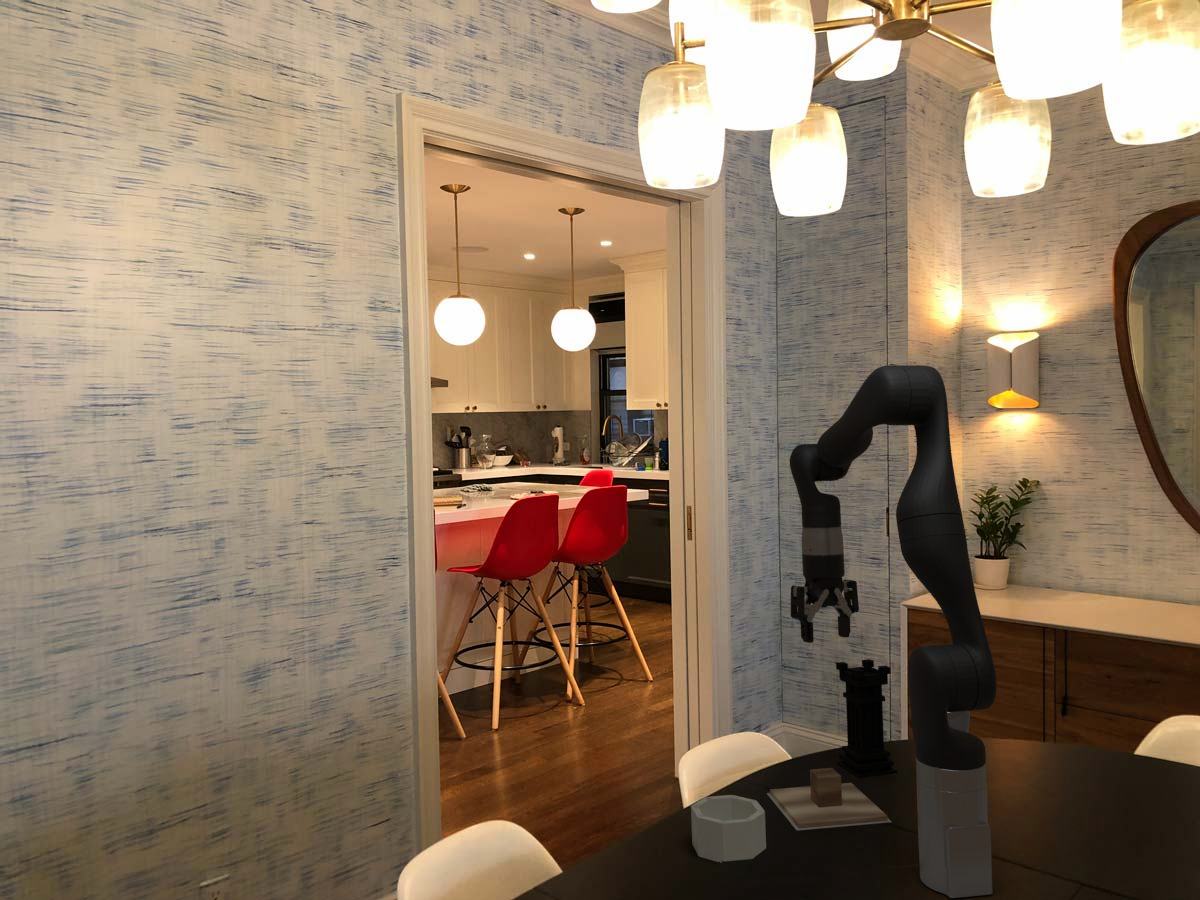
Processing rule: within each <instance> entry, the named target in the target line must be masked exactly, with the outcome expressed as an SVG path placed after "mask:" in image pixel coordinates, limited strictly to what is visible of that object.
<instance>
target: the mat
mask: <svg viewBox="0 0 1200 900" xmlns="http://www.w3.org/2000/svg"><path fill="white" fill-rule="evenodd" d="M766 795H767V796H768V797H769V798H770V800H771V801H772V802H773V803H774V804H775V805H776V807H777V808H778V810H779V811H780V812H781V813H782V814H783V816H784V817H785V818H786V819H787V821H789V823H790V824H791V826H792V827H794V829H795V830H796V831H808V830H817V829H818V830H819V829H828V828H829V829H830V828H841V827H851V826H863V825H864V826H865V825H875V824H887V823H892V821H891V820H890V819H889V818H888V821H880V822H869V823H857V824H846V825H835V826H823V827H812V828H801V829H799V828H798V827H797V826H796V825H795V823H794V822H793V821H792V820H791V819H790V817H789V816H788V815H787V814H786V813H785V811H784V810H783V809H782V808H781V806H780V805H779V804H778V803H777V802H776V800H775V799H774V798H773V797H772V796H771V794H770V792H767V793H766Z"/></svg>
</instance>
